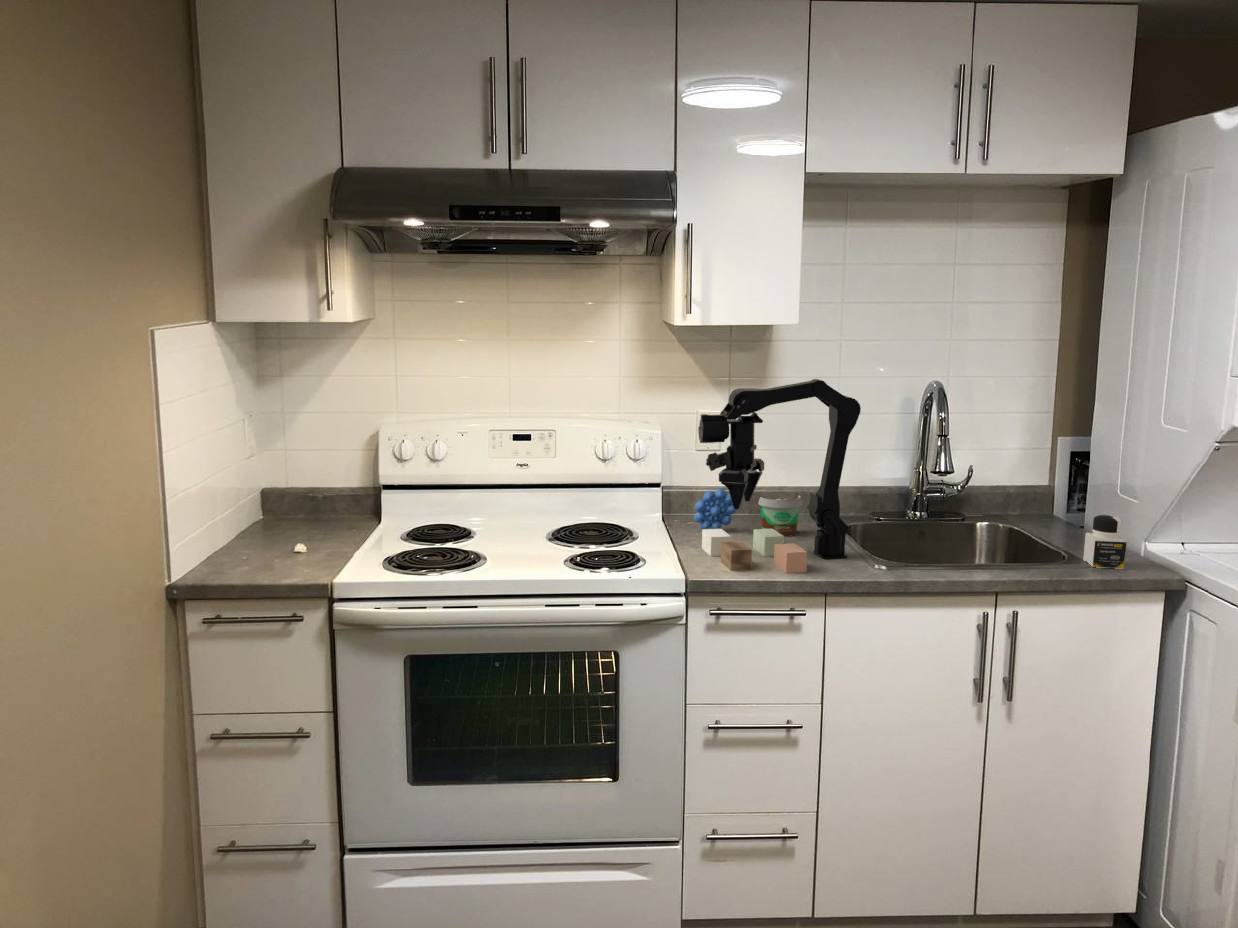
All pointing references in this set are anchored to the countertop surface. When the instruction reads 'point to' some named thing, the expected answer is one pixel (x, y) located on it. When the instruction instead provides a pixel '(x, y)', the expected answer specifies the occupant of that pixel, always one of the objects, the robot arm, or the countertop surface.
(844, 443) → the robot arm
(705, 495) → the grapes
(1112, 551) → the medicine bottle
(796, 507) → the food container
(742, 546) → the walnut brick
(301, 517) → the countertop surface
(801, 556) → the terracotta brick
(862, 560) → the countertop surface
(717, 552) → the off-white brick
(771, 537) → the sage brick
